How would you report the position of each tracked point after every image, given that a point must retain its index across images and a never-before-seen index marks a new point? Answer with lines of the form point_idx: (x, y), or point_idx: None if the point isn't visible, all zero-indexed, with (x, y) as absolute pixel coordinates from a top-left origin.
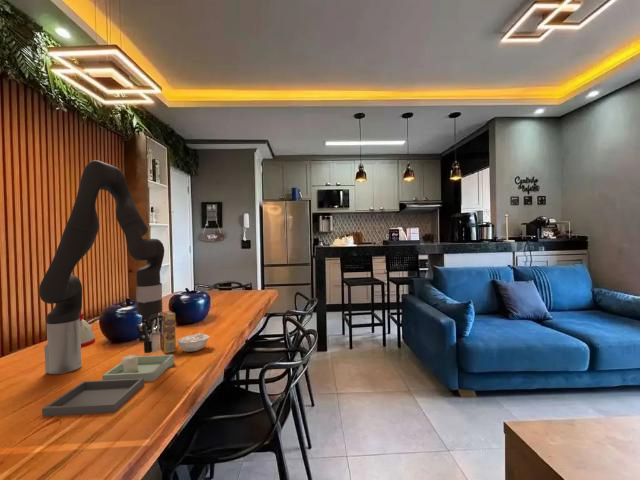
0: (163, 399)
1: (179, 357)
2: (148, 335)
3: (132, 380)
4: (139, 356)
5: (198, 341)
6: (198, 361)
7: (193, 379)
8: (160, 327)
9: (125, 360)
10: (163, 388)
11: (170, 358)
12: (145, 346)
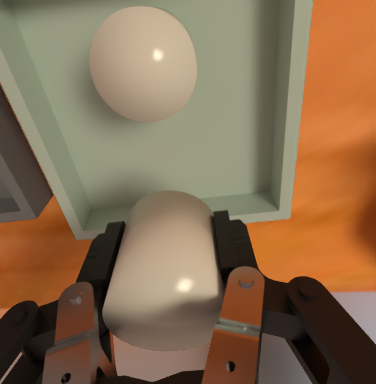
0: (13, 276)
1: (365, 172)
2: (170, 299)
3: (8, 183)
4: (304, 22)
5: None
6: (290, 256)
7: None
8: (303, 367)
9: (91, 69)
10: (69, 249)
11: (244, 221)
12: (87, 268)
